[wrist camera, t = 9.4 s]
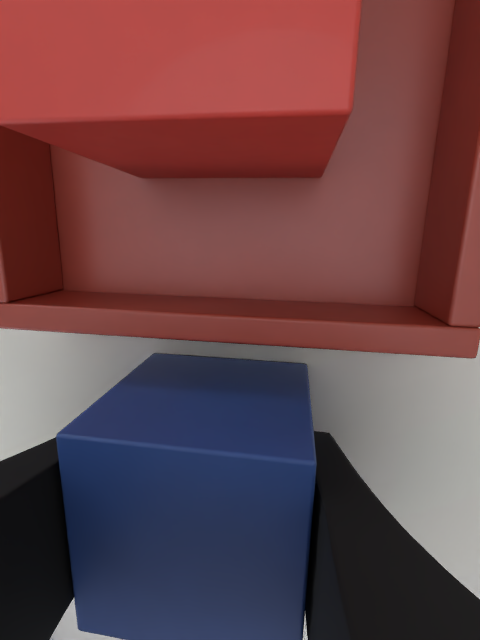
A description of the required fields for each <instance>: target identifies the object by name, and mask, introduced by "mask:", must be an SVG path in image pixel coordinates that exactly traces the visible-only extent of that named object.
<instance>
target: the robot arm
mask: <svg viewBox="0 0 480 640" xmlns="http://www.w3.org/2000/svg"><path fill="white" fill-rule="evenodd" d="M314 442H315V452H316V463H317V466H316V478H315V491H314V503H313V516H312V528H311V541H310V553H309V566H308V578H307V590H306V603H305V614H306V625H307V635H308V640H480V599H479V598H477V597H476V596H475V595H474V594H473V593H472V592H470V591H469V590H468V589H467V588H466V587H465V586H463V585H462V584H461V583H460V582H459V581H458V580H457V579H456V578H455V577H453V576H452V575H451V574H450V573H449V572H448V571H447V570H446V569H445V568H444V567H442V566H441V565H440V564H439V563H438V562H437V561H436V560H435V559H434V558H433V557H432V556H431V555H430V554H429V553H428V552H427V551H426V550H425V549H424V548H423V547H422V546H421V545H420V544H419V543H418V542H417V541H416V540H415V539H414V538H413V537H412V536H411V535H410V534H409V533H408V532H407V531H406V530H405V529H404V528H403V527H402V526H401V525H400V524H399V522H398V521H397V520H396V519H395V518H394V517H393V516H392V515H391V513H390V512H389V511H388V510H387V509H386V508H385V507H384V505H383V504H382V503H381V502H380V501H379V499H378V498H377V497H376V496H375V495H374V493H373V492H372V491H371V489H370V488H369V487H368V486H367V484H366V483H365V482H364V481H363V479H362V478H361V477H360V475H359V474H358V473H357V471H356V470H355V469H354V467H353V466H352V465H351V463H350V462H349V460H348V459H347V458H346V456H345V455H344V453H343V452H342V450H341V449H340V447H339V446H338V444H337V443H336V441H335V440H334V438H333V437H332V436H331V434H330V433H327V432H316V431H314ZM73 598H74V590H73V581H72V572H71V564H70V555H69V546H68V538H67V529H66V520H65V511H64V503H63V494H62V485H61V477H60V468H59V459H58V451H57V442H56V437H55V438H53V439H51V440H49V441H46V442H44V443H42V444H40V445H38V446H35V447H33V448H31V449H28V450H26V451H24V452H21V453H19V454H17V455H14V456H12V457H9V458H7V459H5V460H2V461H0V640H49V639H50V637H51V635H52V634H53V632H54V630H55V628H56V627H57V625H58V623H59V621H60V620H61V618H62V616H63V614H64V613H65V611H66V609H67V608H68V606H69V604H70V603H71V601H72V600H73Z"/></svg>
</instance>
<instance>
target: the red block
mask: <svg viewBox="0 0 480 640" xmlns="http://www.w3.org/2000/svg"><path fill="white" fill-rule="evenodd" d="M361 8H362V0H0V125H1V126H4V127H6V128H9V129H11V130H14V131H17V132H19V133H22V134H25V135H27V136H30V137H33V138H35V139H38V140H41V141H43V142H46V143H49V144H51V145H54V146H57V147H59V148H62V149H65V150H67V151H70V152H73V153H75V154H78V155H81V156H83V157H86V158H89V159H91V160H94V161H97V162H99V163H102V164H105V165H107V166H110V167H113V168H115V169H118V170H121V171H123V172H126V173H129V174H131V175H134V176H137V177H139V178H320V177H322V175H323V173H324V171H325V169H326V167H327V165H328V162H329V160H330V158H331V156H332V154H333V151H334V149H335V147H336V145H337V143H338V140H339V138H340V136H341V134H342V132H343V129H344V127H345V125H346V123H347V121H348V118H349V116H350V114H351V112H352V110H353V102H354V90H355V79H356V67H357V55H358V43H359V31H360V19H361Z"/></svg>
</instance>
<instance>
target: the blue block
mask: <svg viewBox="0 0 480 640" xmlns="http://www.w3.org/2000/svg"><path fill="white" fill-rule="evenodd" d="M56 442H57V451H58V459H59V468H60V477H61V485H62V494H63V503H64V511H65V520H66V529H67V538H68V546H69V555H70V564H71V572H72V581H73V590H74V599H75V607H76V616H77V625H78V629H79V630H80V631H84V632H89V633H94V634H100V635H105V636H110V637H115V638H120V639H126V640H303V628H304V615H305V603H306V590H307V578H308V566H309V553H310V541H311V528H312V516H313V503H314V491H315V478H316V466H317V463H316V452H315V442H314V431H313V421H312V410H311V400H310V389H309V379H308V368H307V365H306V364H300V363H286V362H271V361H257V360H243V359H229V358H214V357H200V356H186V355H172V354H157V353H154V354H152V355H151V356H150V357H149V358H148V359H146V360H145V361H144V362H143V363H142V364H140V365H139V366H138V367H137V368H136V369H134V370H133V371H132V372H131V373H130V374H128V375H127V376H126V377H125V378H124V379H122V380H121V381H120V382H119V383H118V384H116V385H115V386H114V387H113V388H112V389H110V390H109V391H108V392H107V393H105V394H104V395H103V396H102V397H101V398H99V399H98V400H97V401H96V402H95V403H93V404H92V405H91V406H90V407H89V408H87V409H86V410H85V411H84V412H83V413H81V414H80V415H79V416H78V417H77V418H75V419H74V420H73V421H72V422H71V423H69V424H68V425H67V426H66V427H65V428H63V429H62V430H61V431H60V432H59V433H58V434H57V436H56Z"/></svg>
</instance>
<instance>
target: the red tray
mask: <svg viewBox="0 0 480 640" xmlns="http://www.w3.org/2000/svg"><path fill="white" fill-rule="evenodd" d="M478 327H480V0H362V8H361V19H360V31H359V43H358V55H357V67H356V79H355V90H354V102H353V110H352V112H351V114H350V116H349V118H348V121H347V123H346V125H345V127H344V129H343V132H342V134H341V136H340V138H339V140H338V143H337V145H336V147H335V149H334V151H333V154H332V156H331V158H330V160H329V162H328V165H327V167H326V169H325V171H324V173H323V175H322V177H320V178H139V177H137V176H134V175H131V174H129V173H126V172H123V171H121V170H118V169H115V168H113V167H110V166H107V165H105V164H102V163H99V162H97V161H94V160H91V159H89V158H86V157H83V156H81V155H78V154H75V153H73V152H70V151H67V150H65V149H62V148H59V147H57V146H54V145H51V144H49V143H46V142H43V141H41V140H38V139H35V138H33V137H30V136H27V135H25V134H22V133H19V132H17V131H14V130H11V129H9V128H6V127H4V126H1V125H0V328H2V329H18V330H34V331H49V332H65V333H81V334H96V335H112V336H128V337H143V338H159V339H175V340H190V341H206V342H222V343H237V344H253V345H269V346H284V347H300V348H316V349H331V350H347V351H363V352H378V353H394V354H410V355H425V356H441V357H457V358H475V357H476V356H477V351H478V345H479V340H480V328H478Z"/></svg>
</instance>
